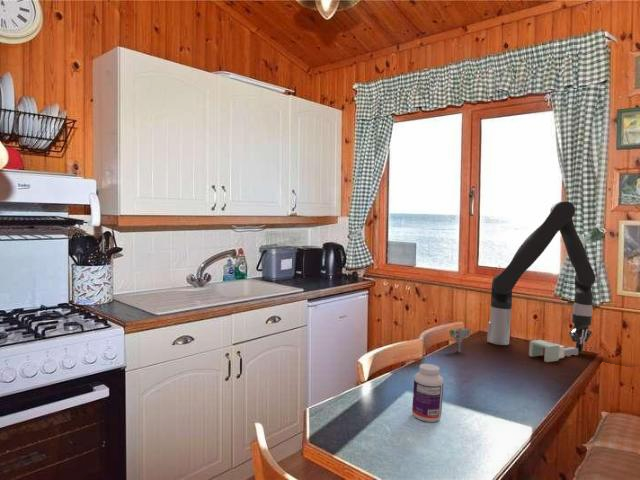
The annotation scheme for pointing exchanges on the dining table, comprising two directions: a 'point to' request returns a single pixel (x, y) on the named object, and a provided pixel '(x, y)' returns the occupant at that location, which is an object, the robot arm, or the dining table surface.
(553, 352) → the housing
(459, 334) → the mechanical component
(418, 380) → the pill bottle
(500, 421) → the dining table surface
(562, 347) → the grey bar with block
